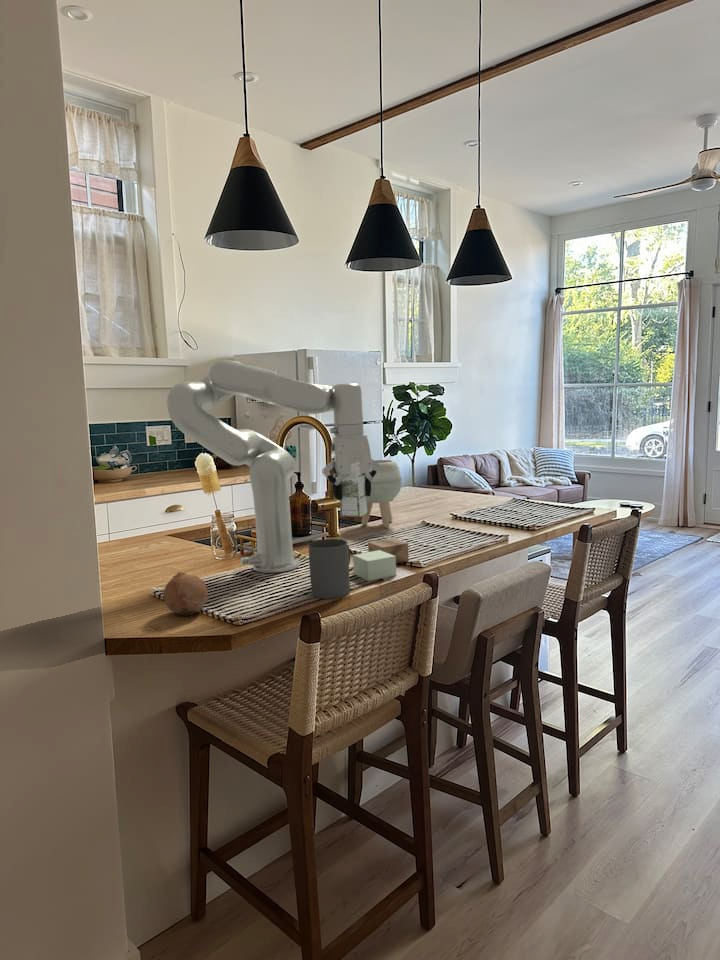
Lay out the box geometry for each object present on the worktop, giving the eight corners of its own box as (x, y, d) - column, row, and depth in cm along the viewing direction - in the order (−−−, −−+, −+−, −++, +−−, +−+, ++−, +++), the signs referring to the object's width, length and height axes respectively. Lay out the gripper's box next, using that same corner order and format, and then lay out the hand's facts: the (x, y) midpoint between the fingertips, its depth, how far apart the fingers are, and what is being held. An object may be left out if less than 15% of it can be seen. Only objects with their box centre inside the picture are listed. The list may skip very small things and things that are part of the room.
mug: (337, 601, 147) (334, 549, 146) (303, 596, 152) (300, 546, 150) (366, 584, 159) (364, 536, 157) (334, 580, 164) (332, 533, 162)
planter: (398, 519, 237) (395, 457, 234) (407, 528, 222) (404, 462, 219) (354, 522, 235) (351, 460, 232) (360, 531, 219) (357, 465, 216)
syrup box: (367, 513, 176) (364, 459, 174) (360, 517, 170) (357, 461, 168) (347, 512, 178) (344, 459, 176) (339, 517, 172) (336, 462, 170)
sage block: (368, 580, 162) (367, 561, 161) (353, 573, 169) (352, 554, 168) (396, 575, 165) (395, 556, 165) (380, 568, 173) (379, 550, 172)
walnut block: (383, 565, 175) (382, 547, 175) (368, 559, 182) (368, 542, 182) (408, 560, 179) (407, 543, 178) (393, 555, 186) (392, 537, 185)
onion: (178, 623, 147) (167, 580, 149) (217, 609, 147) (206, 567, 149) (162, 622, 138) (151, 577, 140) (205, 607, 138) (193, 562, 140)
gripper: (324, 434, 164) (328, 503, 166) (385, 429, 172) (388, 495, 174) (312, 433, 170) (317, 499, 173) (371, 428, 178) (374, 492, 181)
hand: (352, 497), depth 173 cm, fingers closed on syrup box, 7 cm apart
